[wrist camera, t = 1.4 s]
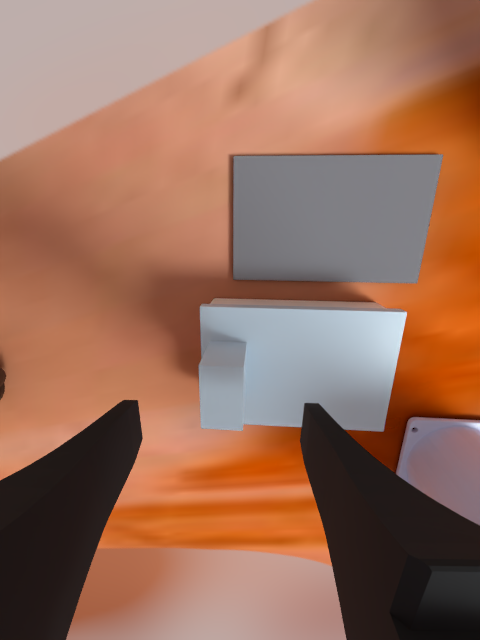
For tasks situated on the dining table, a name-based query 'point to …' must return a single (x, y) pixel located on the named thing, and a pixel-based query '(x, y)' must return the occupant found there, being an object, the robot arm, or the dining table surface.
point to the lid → (297, 364)
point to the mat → (332, 217)
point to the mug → (2, 382)
